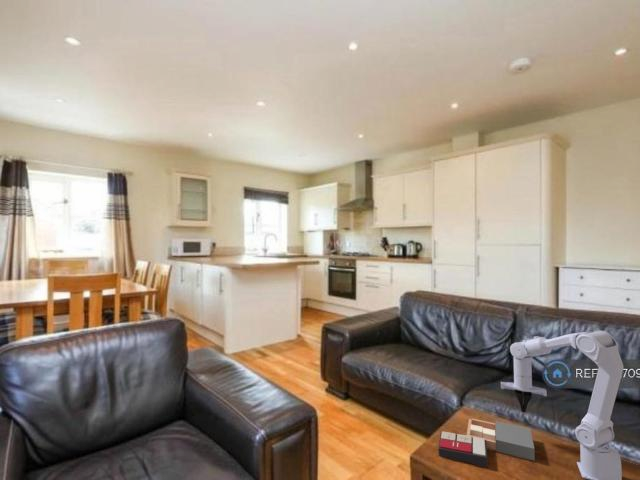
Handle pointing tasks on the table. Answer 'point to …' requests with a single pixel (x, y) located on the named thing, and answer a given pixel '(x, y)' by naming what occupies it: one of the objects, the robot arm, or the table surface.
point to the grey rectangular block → (514, 441)
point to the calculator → (463, 448)
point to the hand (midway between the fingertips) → (523, 411)
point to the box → (489, 443)
